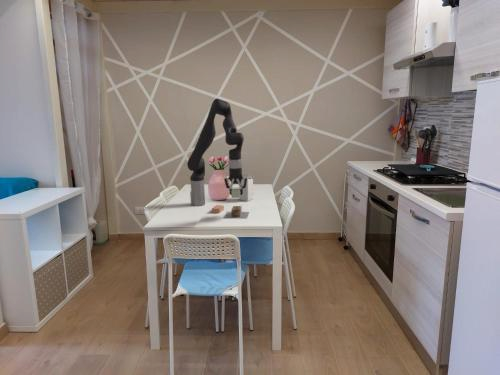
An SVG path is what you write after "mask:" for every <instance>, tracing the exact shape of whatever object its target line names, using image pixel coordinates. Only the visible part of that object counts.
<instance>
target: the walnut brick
mask: <svg viewBox="0 0 500 375" xmlns="http://www.w3.org/2000/svg"><path fill="white" fill-rule="evenodd" d="M242 209H243V208H242V205H233V206H232V207H231V211H230V212H231V214H232V217H240V216H241V213H242V212H243V211H242Z"/></svg>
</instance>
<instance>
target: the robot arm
mask: <svg viewBox="0 0 500 375" xmlns="http://www.w3.org/2000/svg"><path fill="white" fill-rule="evenodd" d="M216 114H217V115H219V116H223V117H224V119H223V121H222V127H223V129H224V133H225V143H226V144H227V146H228V145H229V146H235V147H234V148H231V149H229V150H228V159H229V161H228V171H229V172H228V177H225V178H223V180H224V183H225V184H224V185H225V188H226V189H229V195H230V196H232V193H231V190H232V188H233V186H234V185H238V186H240V195H242V194H243V188H245V187H246V183H247V178H243V176H242V174H243V163H242V162H243V161H242V148H243V143H244V140H245V139H244V134H243V133H242V132H237V131H238V129H237V126H236V123H235V122H234V118H233V113H232V108H231V104H230V103H229V102H228V101H226V100H223V99H220V98H214V100H213V101H212V103H211V105H210V108H209V112H208V114H207V118H206V121H205V122H204V125H203V128H202V130H201V132H200V134H199V137H198V140H197V142H196V144H195V146H194V149H193V151H192V153H191V154H190V156H189V158H188V160H187V164H186V166H187V169H189V171H192V173H191V175H190V178H189V179H190V192H189V193H190V197H189V198H190V205H191V206H195V207H199V206H205V205H206V193H205V176H206V162H205V159H204V158H203V155H204V154H205V153H206V151H207V150H208V149H209V148H210V147H211V145H213V142H214V139H215V137H216V135H217V134H216V128H215V127H216V125H215V118H216ZM242 179H243V181H244V186H242V184H241V181H242ZM229 181H230V185H229Z"/></svg>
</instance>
